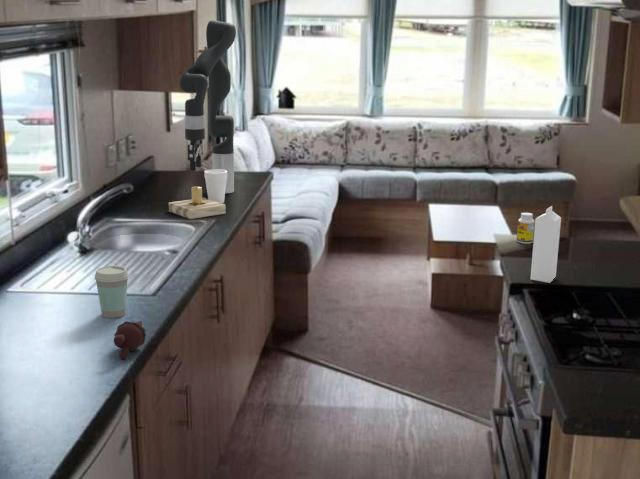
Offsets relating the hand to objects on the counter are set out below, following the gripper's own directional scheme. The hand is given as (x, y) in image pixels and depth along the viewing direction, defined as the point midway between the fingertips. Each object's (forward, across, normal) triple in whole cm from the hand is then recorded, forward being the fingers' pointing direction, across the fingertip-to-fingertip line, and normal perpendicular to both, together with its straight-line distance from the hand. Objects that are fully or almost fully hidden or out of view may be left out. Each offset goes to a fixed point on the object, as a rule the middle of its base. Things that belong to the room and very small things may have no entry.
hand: (195, 168), depth 325 cm
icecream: (+16, -138, -18) cm, 140 cm away
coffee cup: (+16, -116, -6) cm, 118 cm away
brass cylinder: (+17, 0, 0) cm, 17 cm away
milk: (+16, -68, -123) cm, 142 cm away
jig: (+17, 0, 0) cm, 17 cm away
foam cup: (+18, +19, -4) cm, 26 cm away
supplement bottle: (+17, -26, -123) cm, 127 cm away
